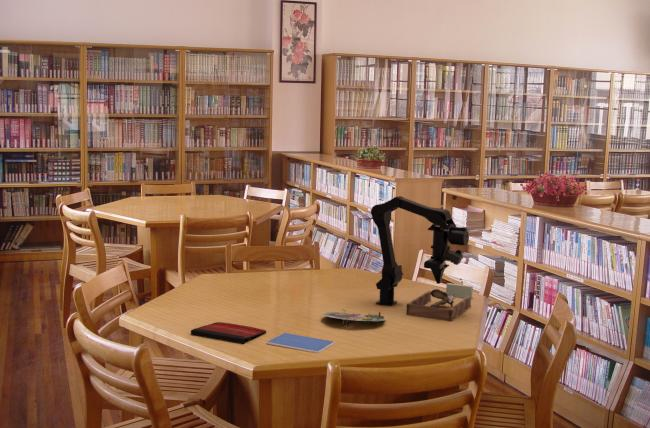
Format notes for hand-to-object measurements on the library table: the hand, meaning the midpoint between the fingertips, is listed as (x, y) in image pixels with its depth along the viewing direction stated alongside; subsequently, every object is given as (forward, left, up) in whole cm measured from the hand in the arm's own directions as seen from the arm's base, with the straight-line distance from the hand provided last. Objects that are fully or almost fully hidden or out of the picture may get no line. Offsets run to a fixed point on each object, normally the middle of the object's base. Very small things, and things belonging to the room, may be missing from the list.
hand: (438, 283), depth 296 cm
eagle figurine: (+9, +1, -11) cm, 14 cm away
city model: (-29, +21, -11) cm, 37 cm away
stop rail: (+27, 0, -11) cm, 29 cm away
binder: (-65, +51, -12) cm, 83 cm away
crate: (+2, 0, -11) cm, 11 cm away
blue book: (-63, +25, -12) cm, 68 cm away
